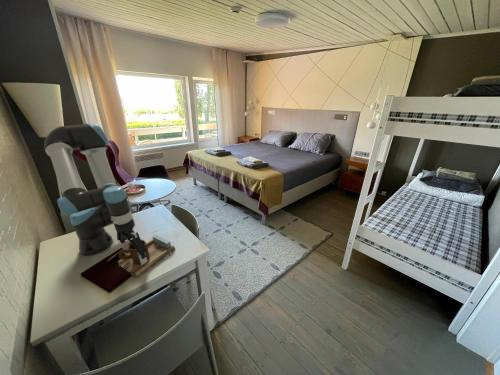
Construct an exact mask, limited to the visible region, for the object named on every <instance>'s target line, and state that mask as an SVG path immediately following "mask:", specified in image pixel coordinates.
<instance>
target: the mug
mask: <svg viewBox="0 0 500 375" xmlns="http://www.w3.org/2000/svg"><path fill="white" fill-rule="evenodd" d="M141 240H142V242H143V244H144V246H145V248H146V249H147V252H145V255H146V258H147V261H148V260H149V257H150V255H149V252H148V248H147V245H146V243H147V242H146V241H145V240H144V239H141ZM128 248H129V249H128V250H123V249H122V250H121V251H120V252H119V253H118V257H119V259H120V260H121V259H132V261H133V263H134V264H136V265H140V264H141V262H140V259H139V256H138V255H137V254H138V251H137V250H136V249H135V247H134V246H133V244H132V243H131V242H130V244H129V247H128ZM125 253H128V254H130V255H128V254H125ZM123 254H125V255H123Z"/></svg>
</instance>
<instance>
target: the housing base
mask: <svg viewBox="0 0 500 375" xmlns="http://www.w3.org/2000/svg"><path fill="white" fill-rule="evenodd" d="M145 243H146V245H147V248H148V252H149V255H150V257H149V260H148V261H147V262H146V263H144V264H143V265H141V264H140V265H136V264H134V263H133V261H132V259H121V258H120V259H119V260H118V261H117V262H118V263H117V265H119V266H118V267H120V266H121V267H122V268H124V269H125V270H127V271H128V272H130V273H131V274H130V273H129V274H130V275H131V276H133V277H134V278H135V279H138V278H140V276H142V275H143V274H144V273H146V272H147V271H148V270H150V269H151V268H152V267H154V266H155V265H157V264H158V263H159V262H161V261H162V260H163V259H164V258H166V257H167V256H169V255H170V254H171V253H173V252H174V251H175V250H176V247H175V246H174V244H171V247H169V248H168V249H166V248H164V247H162V246H160V245H158V244H156V243H154V240H153V238H152V239H151V240H149V241H148V242H145ZM127 255H130V253H128V254H127ZM121 267H120V268H121ZM122 268H121V269H122ZM124 269H123V270H124ZM125 270H124V271H125ZM127 271H126V272H127ZM128 272H127V273H128Z"/></svg>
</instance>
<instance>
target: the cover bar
mask: <svg viewBox="0 0 500 375" xmlns="http://www.w3.org/2000/svg"><path fill="white" fill-rule="evenodd" d="M152 239H153V240H154V243H156V244H158V245H160V246H162V247H164V248H166V249H168V248H169V247H171V246H172V244H171V243H172V242H171V240H168V239H166V238H164V237H162V236H159V235H158V234H154V235H153V236H152Z"/></svg>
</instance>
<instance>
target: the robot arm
mask: <svg viewBox="0 0 500 375" xmlns="http://www.w3.org/2000/svg"><path fill="white" fill-rule="evenodd" d="M43 145H44V146H43V148H44V151H45V153H46V155H47V156H49V157H50V160H51V162H52V163H51V164H52V165H53V166H52V167H53V169H54V172H55V175H56V178H57V182H58V185H59V188H60V191H61V193H62V194H61V195H62V196H61V197H59V198H57V200H56V201H57V205H58V209H59V210H60V212H61V213H62V214H63V215H65V216H69V220H70V223H71V226H72V228H73V229H74V231H75V234H76V236H77V238H78V250H79V252H80V254H81V255H83V256H93V255H96V254H99V253H103V252H104V251H105V250H107V249H109V248H110V247H111V246H112V244H113V242H114V238H113V237H112V235H110V234H109V232H107V230H106V229H105V227H108V226H112V225H114V229H115V231H116V240H117V241H118V242H119V243H120V245H121V247H122V251H123V250H128V249H129V248H128V247H129V245H130V244H131V243H132V244H133V246H134V247H135V249H136V250H137V251H138V254H137V255H138V256H139V259H140V262H141V265H143V264H144V263H146V262H147V258H146V255H145V252H147V249H146V248H145V246H144V244H143V242H142V240H143V239H141V237H140V234H139V233H138V231H136V232H135V230H134V228H135V226H136V223H135V220H134V217H133V212H132V208H131V204H130V201H129V198H128V197H127V193H126V192H125V188H124V187H122V185H121V186H120V185H117V183H116V179H115V177H114V174H113V172H112V168H111V166H110V163H109V159H108V157H107V154H106V150H107V149H108V147H107V146H108V145H109V139H108V138H107V136H106V134H105V132H104V129H103V128H102V127H101V125H99V124H97V123H82V124H73V125H61V126H58V127H55V128H53V129H52V130H50V132H49V133H48V134H47V135H46V137H45V140H44V144H43ZM75 150H79V152H80V154H83V155H85V157H86V160H87V163H88V165H89V168H90V171H91V173H92V176H93V179H94V181H95V184H96V187H97V188H95V189H91V190H87V191H86V190H85V187H84V184H83V181H82V179H81V176H80V173H79V171H78V168H77V165H76V161H75V160H74V157H73V155H72V154H73V151H75ZM129 243H130V244H129ZM124 254H125V255H128V254H129V253H124Z"/></svg>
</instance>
